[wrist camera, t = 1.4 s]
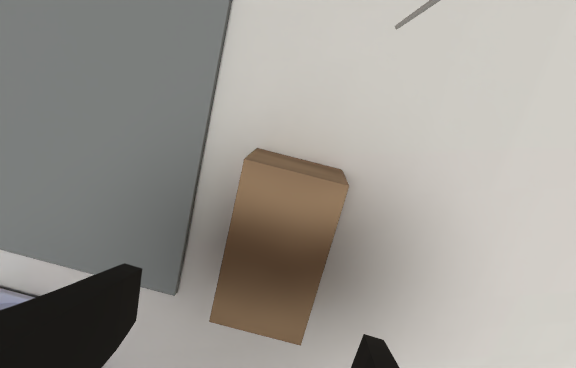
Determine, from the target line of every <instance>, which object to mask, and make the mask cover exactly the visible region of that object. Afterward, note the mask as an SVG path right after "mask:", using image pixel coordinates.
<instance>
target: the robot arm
mask: <svg viewBox="0 0 576 368" xmlns="http://www.w3.org/2000/svg"><path fill="white" fill-rule="evenodd" d="M141 276H142V268H139V267H136V266H132V265H129V264H125V263H124V264H121V265H118V266H116V267H113V268H110V269H108V270H105V271H103V272H100V273H98V274H96V275H93V276H91V277H88V278H86V279H83V280H81V281H78V282H76V283H73V284H71V285H68V286H66V287H63V288H61V289H58V290H56V291H53V292H50V293H47V294H45V295H42V296H39V297H36V298H35V297H31V296H28V295H24V294H20V293H16V292H13V291H9V290H5V289H1V288H0V368H101V367H102V366H103V365H104V364H105V363H106V362H107V360H108V359H109V358H110V357H111V356H112V354H113V353H114V352H115V351H116V350H117V348H118V347H119V345H120V344H121V342H122V341H123V340H124V338H125V337H126V335H127V334H128V332H129V331H130V329H131V328H132V326H133V325H134V323H135V322H136V317H137V309H138V301H139V293H140V285H141ZM351 368H399V366H398V364H397V363H396V361H395V359H394V357H393V356H392V354H391V352H390V350H389V349H388V347H387V345H386V343H385V342H384V340H382V339H379V338H375V337H372V336H369V335H365V334H364V335H363V338H362V340H361V343H360V345H359V348H358V351H357V353H356V356H355V359H354V361H353V364H352V366H351Z"/></svg>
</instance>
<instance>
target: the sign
mask: <svg viewBox="0 0 576 368" xmlns="http://www.w3.org/2000/svg"><path fill="white" fill-rule="evenodd" d="M439 1H440V0H430V1H428V2H427V3H426V4H424V5H423V6H421V7H420V8H419V9H417V10H416V11H415V12H413V13H412V14H411V15H409V16H408V17H406V18H405V19H404V20H402V21H401V22H400V23H398V24H397V25H396V26H395V28H396V30H397V29H398V28H400V27H401V26H403V25H404V24H406V23H407V22H409V21H410V20H412V19H413V18H415V17H416V16H418V15H419V14H421V13H422V12H424V11H425V10H427V9H428V8H430V7H431V6H433V5H434V4H436V3H437V2H439Z"/></svg>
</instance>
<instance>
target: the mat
mask: <svg viewBox="0 0 576 368" xmlns="http://www.w3.org/2000/svg"><path fill="white" fill-rule="evenodd" d="M231 2H232V0H0V250H4V251H7V252H11V253H15V254H19V255H23V256H26V257H30V258H34V259H38V260H41V261H45V262H49V263H53V264H56V265H60V266H64V267H68V268H71V269H75V270H79V271H83V272H87V273H90V274H94V275H96V274H98V273H100V272H103V271H105V270H108V269H110V268H113V267H116V266H118V265H121V264H124V263H125V264H129V265H132V266H136V267H139V268H142V276H141V285H140V287H143V288H147V289H151V290H154V291H158V292H162V293H166V294H169V295H173V296H175V295H176V293H177V290H178V284H179V279H180V274H181V268H182V263H183V258H184V252H185V247H186V242H187V236H188V231H189V226H190V220H191V215H192V210H193V204H194V199H195V194H196V188H197V183H198V178H199V172H200V167H201V162H202V156H203V151H204V146H205V140H206V135H207V130H208V124H209V119H210V114H211V108H212V103H213V98H214V92H215V87H216V82H217V76H218V71H219V66H220V60H221V55H222V50H223V44H224V39H225V34H226V28H227V23H228V18H229V12H230V7H231Z"/></svg>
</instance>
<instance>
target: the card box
mask: <svg viewBox="0 0 576 368" xmlns="http://www.w3.org/2000/svg"><path fill="white" fill-rule="evenodd" d="M348 188H349V184H348V182H347V180H346V178H345V176H344V174H343V171H342V170H341V169H337V168H333V167H329V166H325V165H321V164H317V163H313V162H309V161H306V160H302V159H298V158H294V157H290V156H286V155H282V154H278V153H274V152H270V151H266V150H263V149H259V148H257V149H255V150H254V151H253V152H252V153H251V154H250V155H248V156H247V157H246V158H245V159H244V162H243V167H242V172H241V176H240V181H239V186H238V190H237V195H236V200H235V204H234V209H233V213H232V218H231V223H230V227H229V232H228V237H227V241H226V246H225V251H224V255H223V260H222V265H221V269H220V274H219V279H218V283H217V288H216V292H215V297H214V302H213V306H212V311H211V316H210V320H209V322H212V323H216V324H220V325H224V326H228V327H231V328H235V329H239V330H243V331H247V332H251V333H255V334H258V335H262V336H266V337H270V338H274V339H278V340H282V341H286V342H289V343H293V344H297V345H301V343H302V339H303V336H304V333H305V330H306V326H307V323H308V320H309V316H310V313H311V310H312V306H313V303H314V300H315V297H316V293H317V290H318V287H319V283H320V280H321V277H322V274H323V270H324V267H325V264H326V260H327V257H328V254H329V251H330V247H331V244H332V241H333V237H334V234H335V231H336V227H337V224H338V221H339V218H340V214H341V211H342V208H343V204H344V201H345V198H346V195H347V191H348Z"/></svg>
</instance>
